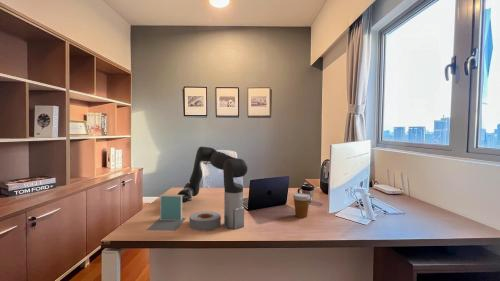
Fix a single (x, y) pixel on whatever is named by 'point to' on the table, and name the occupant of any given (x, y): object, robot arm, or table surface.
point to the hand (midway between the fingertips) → (176, 202)
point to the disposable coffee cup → (301, 204)
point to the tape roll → (205, 221)
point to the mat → (166, 224)
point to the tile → (170, 207)
